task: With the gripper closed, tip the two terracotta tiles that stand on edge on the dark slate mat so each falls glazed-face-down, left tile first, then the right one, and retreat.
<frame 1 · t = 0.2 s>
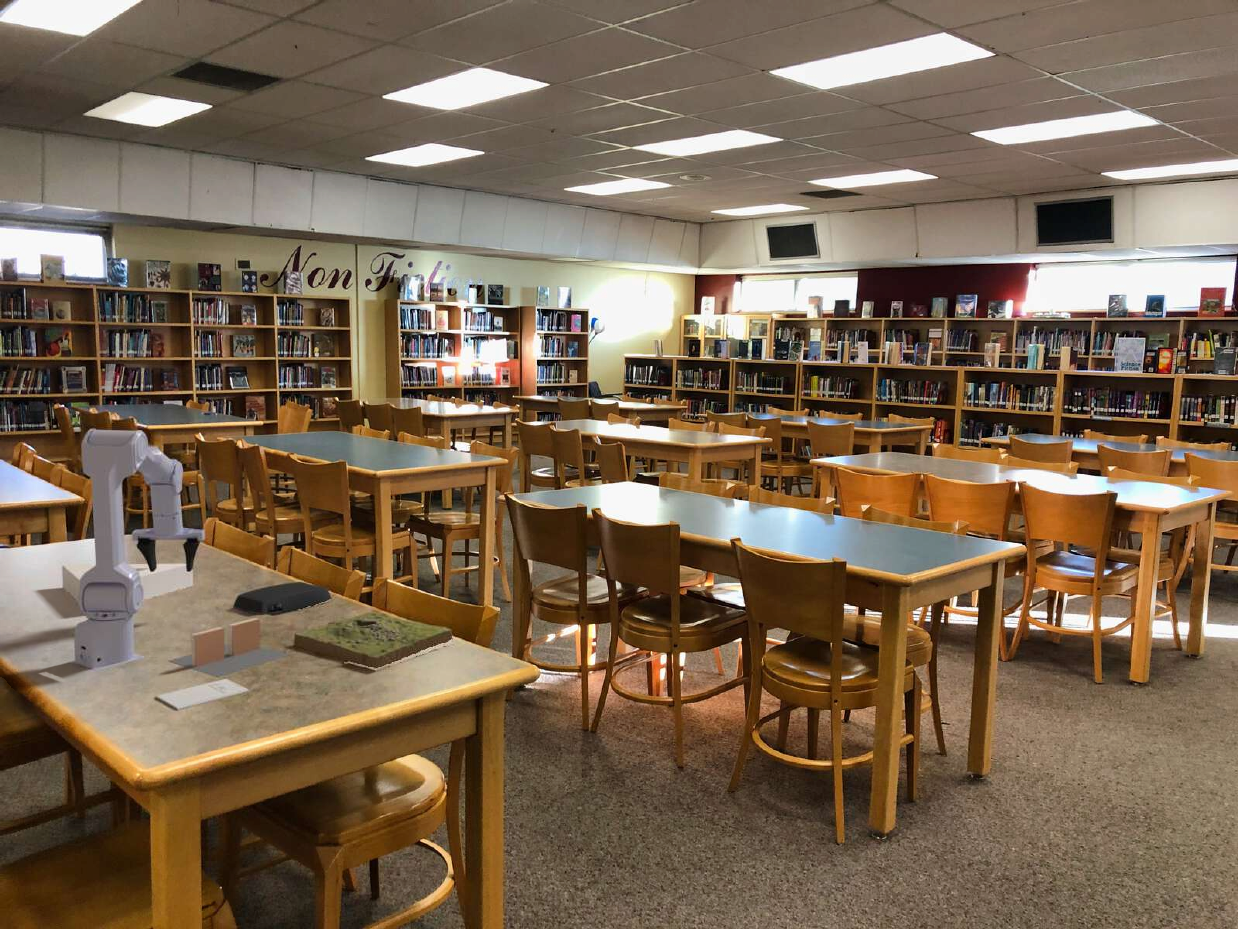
hand: (171, 570, 205), 11 cm above the table, tool pointing down, fingers open, 7 cm apart
external hard drive 2: (202, 702, 158), on the table
triangle block: (137, 596, 225), on the table
tile left: (208, 662, 175), point 1 cm above the table, touching slate mat
miniature landscape model: (374, 649, 190), on the table
slate mat: (230, 660, 178), on the table
tile right: (244, 651, 182), point 1 cm above the table, touching slate mat
external hard drive: (283, 607, 219), on the table
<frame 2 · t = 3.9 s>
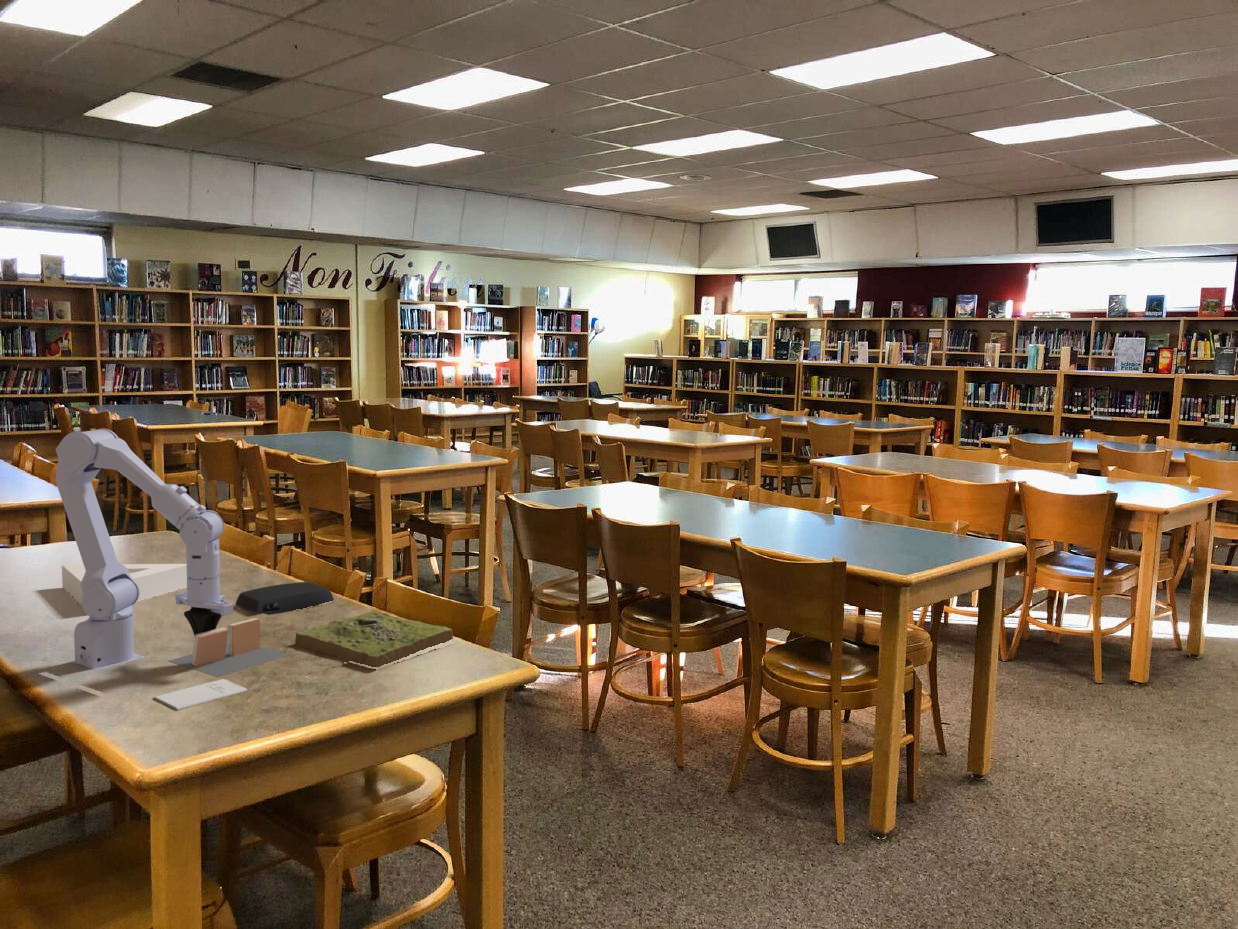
hand: (204, 646, 175), 3 cm above the table, tool pointing down, fingers closed
tile left: (208, 661, 175), point 1 cm above the table, tilted 12°, touching gripper, slate mat
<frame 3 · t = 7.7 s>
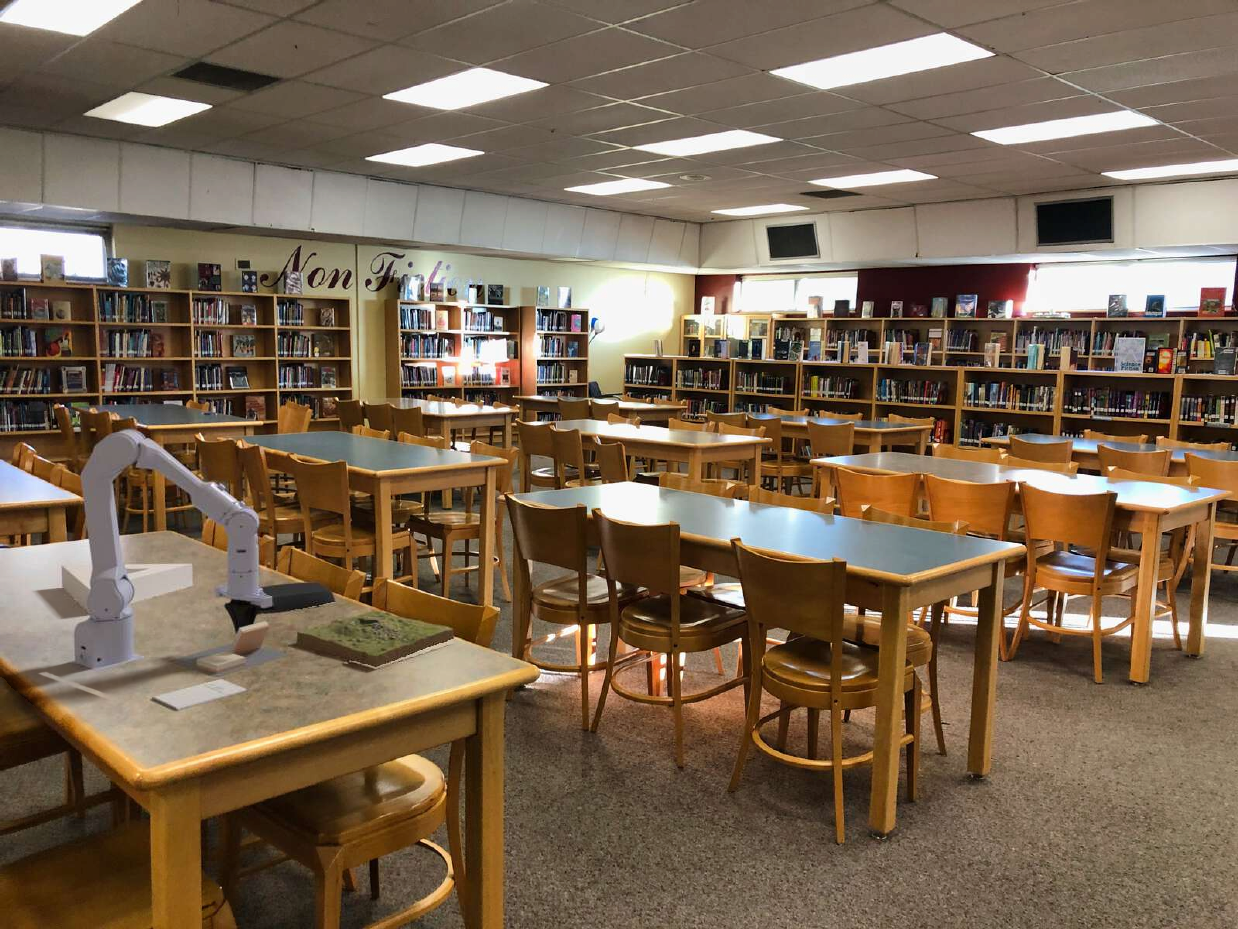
hand: (243, 637, 181), 3 cm above the table, tool pointing down, fingers closed
tile left: (211, 659, 174), point 1 cm above the table, tilted 90°, touching slate mat
tile right: (244, 649, 181), point 1 cm above the table, tilted 30°, touching slate mat
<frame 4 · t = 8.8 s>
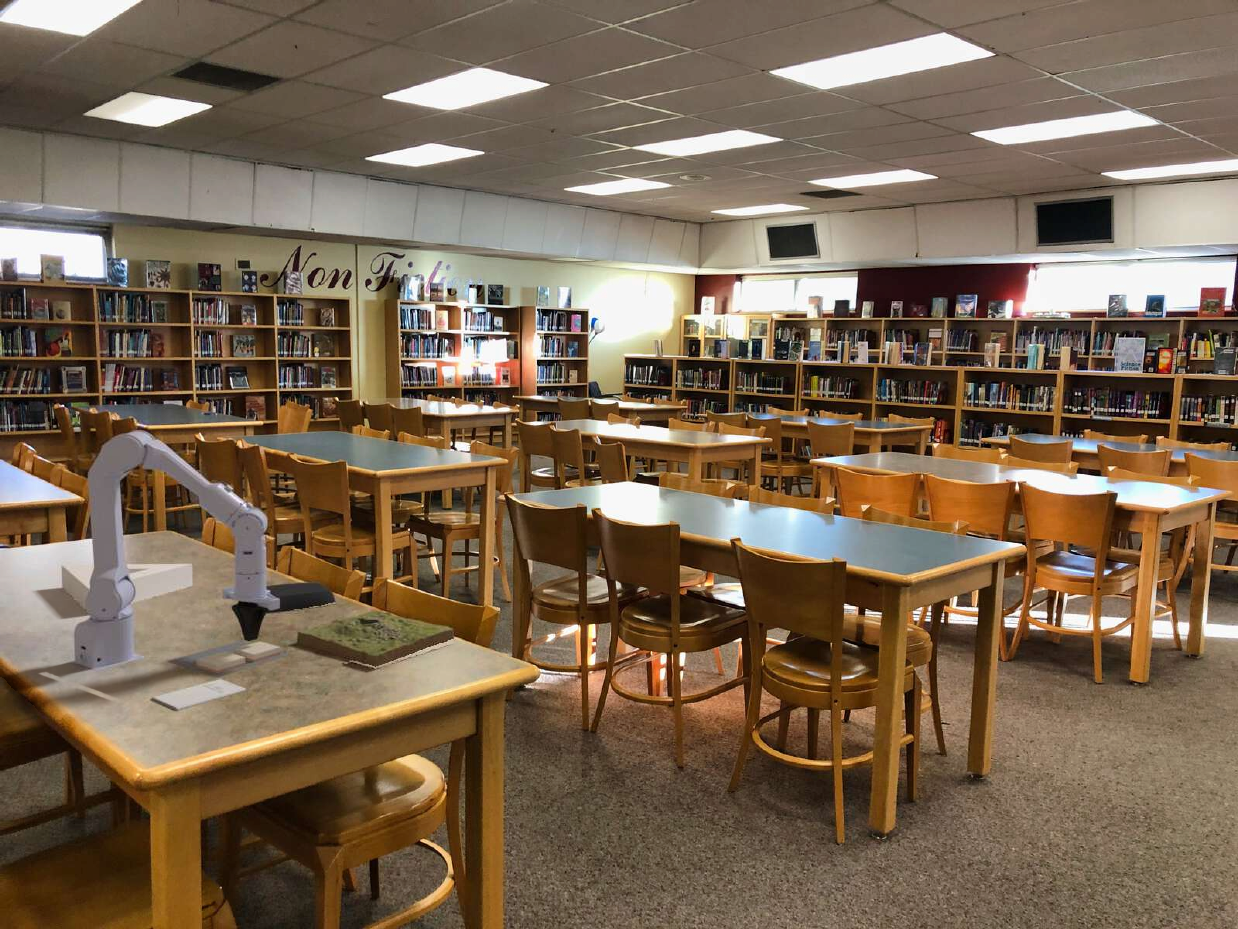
hand: (251, 639, 180), 3 cm above the table, tool pointing down, fingers closed
tile right: (247, 648, 181), point 1 cm above the table, tilted 90°, touching slate mat
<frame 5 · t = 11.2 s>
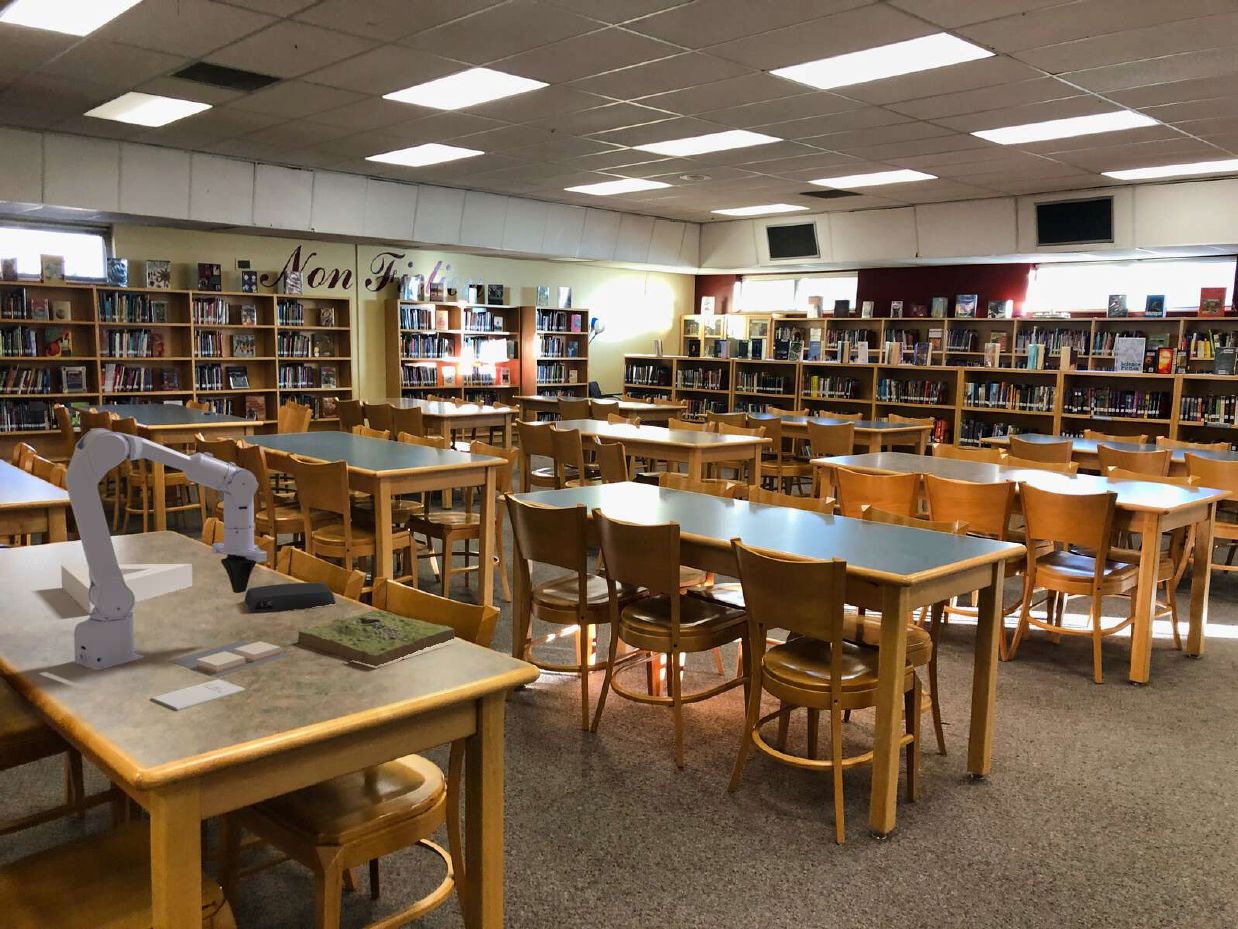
hand: (239, 591, 189), 10 cm above the table, tool pointing down, fingers closed
at the end: tile left tilted 90°; tile right tilted 90°; tile left inside the target area (4.1 cm from its centre), point 1.3 cm above the table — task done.
